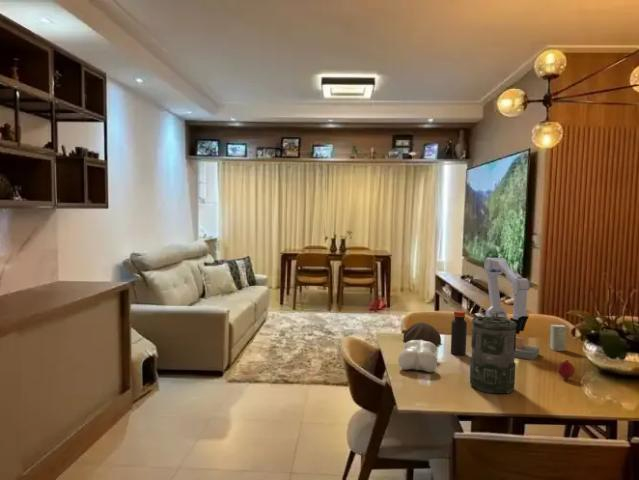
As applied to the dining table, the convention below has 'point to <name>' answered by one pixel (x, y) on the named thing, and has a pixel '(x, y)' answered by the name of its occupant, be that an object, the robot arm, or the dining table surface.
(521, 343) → the rust peg
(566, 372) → the onion
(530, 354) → the grey flat block
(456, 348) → the bottle
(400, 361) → the torso sculpture
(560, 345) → the skincare box
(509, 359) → the canister
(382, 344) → the dining table surface
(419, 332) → the decorative dome
